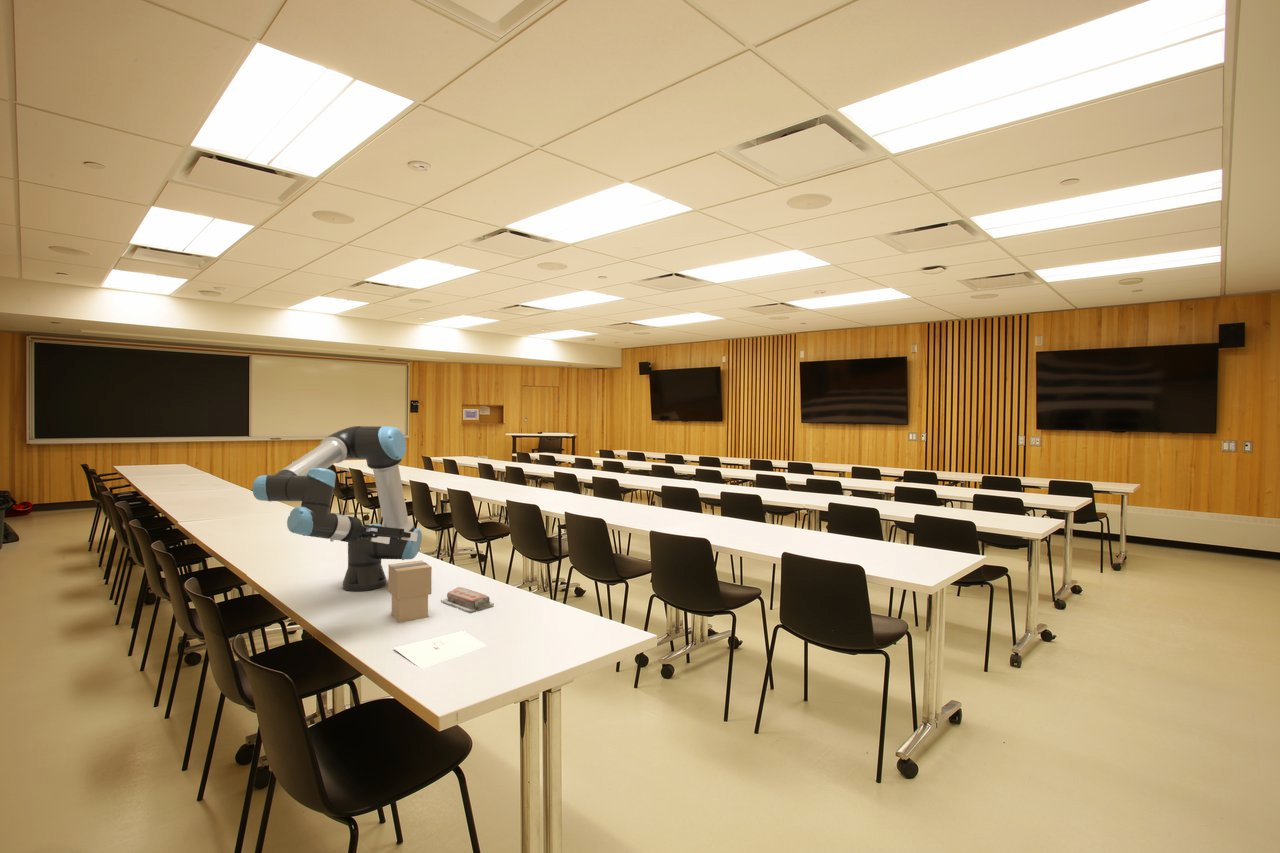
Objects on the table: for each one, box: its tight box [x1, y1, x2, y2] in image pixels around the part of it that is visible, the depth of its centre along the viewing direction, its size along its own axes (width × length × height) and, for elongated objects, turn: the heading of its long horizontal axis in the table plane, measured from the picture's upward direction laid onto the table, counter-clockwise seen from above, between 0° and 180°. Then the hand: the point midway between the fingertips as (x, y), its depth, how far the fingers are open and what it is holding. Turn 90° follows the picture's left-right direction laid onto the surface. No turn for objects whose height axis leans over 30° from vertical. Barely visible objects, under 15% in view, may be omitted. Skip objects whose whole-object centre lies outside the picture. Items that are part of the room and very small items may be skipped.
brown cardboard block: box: [387, 559, 433, 600], centre depth 195 cm, size 11×11×9 cm
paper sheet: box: [393, 630, 488, 670], centre depth 164 cm, size 24×29×1 cm
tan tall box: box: [391, 595, 429, 623], centre depth 195 cm, size 9×9×16 cm
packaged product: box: [440, 586, 495, 614], centre depth 208 cm, size 18×5×10 cm
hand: (402, 538), depth 196 cm, fingers open, 13 cm apart
